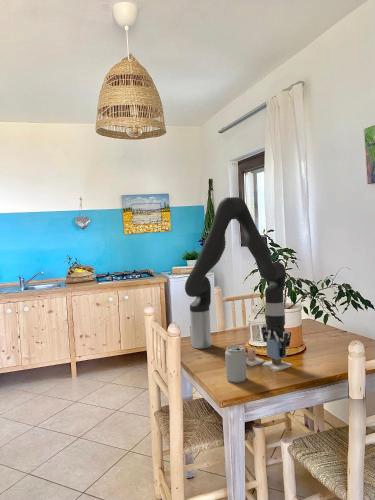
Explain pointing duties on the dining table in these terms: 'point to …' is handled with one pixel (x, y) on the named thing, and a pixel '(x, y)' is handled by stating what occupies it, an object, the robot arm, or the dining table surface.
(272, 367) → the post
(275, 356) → the blue-grey block
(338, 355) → the dining table surface
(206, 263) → the robot arm
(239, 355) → the can
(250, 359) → the short post
